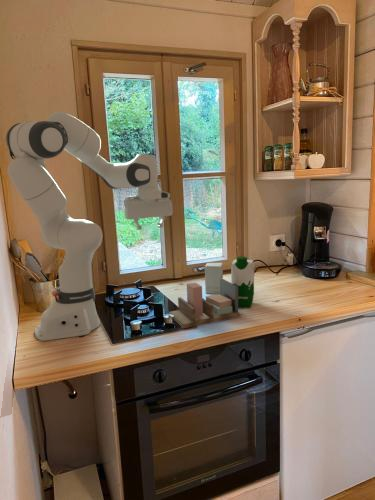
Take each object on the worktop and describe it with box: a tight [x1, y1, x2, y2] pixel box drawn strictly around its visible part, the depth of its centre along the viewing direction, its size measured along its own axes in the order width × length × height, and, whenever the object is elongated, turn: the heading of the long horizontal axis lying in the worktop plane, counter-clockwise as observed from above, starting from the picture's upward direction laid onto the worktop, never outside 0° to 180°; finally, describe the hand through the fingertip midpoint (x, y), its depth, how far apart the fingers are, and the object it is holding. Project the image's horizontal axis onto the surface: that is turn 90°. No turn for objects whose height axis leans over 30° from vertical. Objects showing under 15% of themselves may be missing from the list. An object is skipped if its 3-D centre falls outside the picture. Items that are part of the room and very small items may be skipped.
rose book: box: [186, 282, 203, 317], centre depth 140 cm, size 4×6×11 cm, turn 23°
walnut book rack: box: [168, 296, 241, 329], centre depth 142 cm, size 23×14×6 cm, turn 113°
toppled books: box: [205, 294, 232, 315], centre depth 144 cm, size 7×10×4 cm, turn 23°
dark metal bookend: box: [219, 279, 239, 313], centre depth 145 cm, size 1×12×10 cm, turn 22°
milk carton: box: [230, 256, 255, 309], centre depth 151 cm, size 9×9×20 cm
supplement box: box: [204, 262, 224, 295], centre depth 171 cm, size 7×7×13 cm
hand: (150, 228), depth 157 cm, fingers open, 8 cm apart
